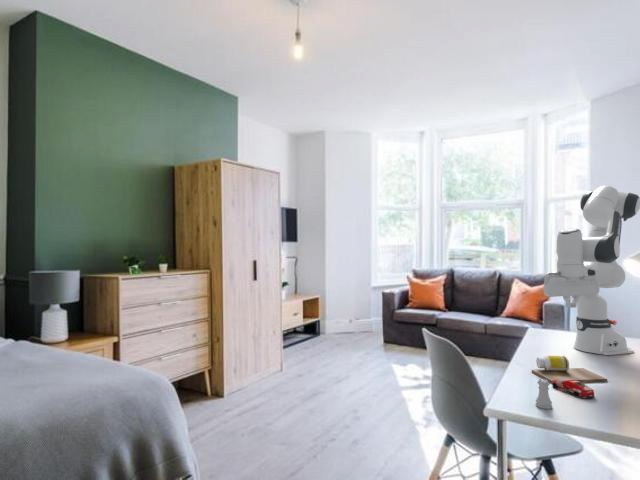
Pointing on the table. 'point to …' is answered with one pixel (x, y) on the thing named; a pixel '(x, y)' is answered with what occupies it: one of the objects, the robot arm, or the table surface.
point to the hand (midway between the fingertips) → (571, 307)
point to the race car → (574, 388)
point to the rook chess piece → (543, 395)
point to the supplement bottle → (553, 363)
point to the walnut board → (570, 375)
